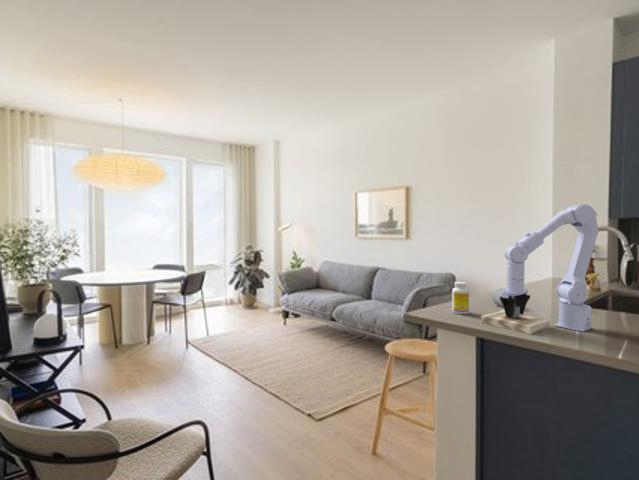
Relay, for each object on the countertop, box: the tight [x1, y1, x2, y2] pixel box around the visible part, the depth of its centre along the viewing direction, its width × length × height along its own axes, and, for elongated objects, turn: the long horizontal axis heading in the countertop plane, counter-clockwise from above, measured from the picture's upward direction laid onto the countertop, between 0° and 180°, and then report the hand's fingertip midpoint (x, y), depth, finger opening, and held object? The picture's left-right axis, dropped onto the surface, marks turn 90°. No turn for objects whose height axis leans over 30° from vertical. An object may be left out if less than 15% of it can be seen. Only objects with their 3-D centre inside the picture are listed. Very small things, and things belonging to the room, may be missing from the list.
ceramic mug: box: [491, 288, 516, 308], centre depth 168 cm, size 11×8×8 cm
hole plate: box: [480, 311, 550, 335], centre depth 138 cm, size 18×14×3 cm
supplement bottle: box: [451, 281, 470, 315], centre depth 157 cm, size 7×7×13 cm
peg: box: [509, 305, 520, 320], centre depth 138 cm, size 4×4×7 cm
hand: (514, 315), depth 138 cm, fingers open, 7 cm apart
